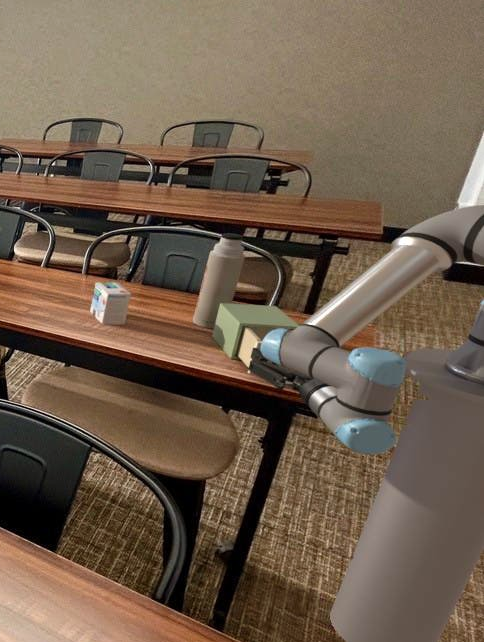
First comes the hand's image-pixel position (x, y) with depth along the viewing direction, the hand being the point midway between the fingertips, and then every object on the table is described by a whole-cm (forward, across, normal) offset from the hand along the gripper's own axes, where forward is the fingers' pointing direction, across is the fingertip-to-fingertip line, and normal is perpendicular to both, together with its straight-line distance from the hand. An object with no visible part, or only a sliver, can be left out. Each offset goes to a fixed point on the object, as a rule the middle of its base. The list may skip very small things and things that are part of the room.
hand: (284, 355), depth 140 cm
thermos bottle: (+35, -4, -7) cm, 36 cm away
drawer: (+4, 0, -6) cm, 8 cm away
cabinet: (+18, 0, -7) cm, 19 cm away
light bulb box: (+33, -32, -7) cm, 46 cm away
